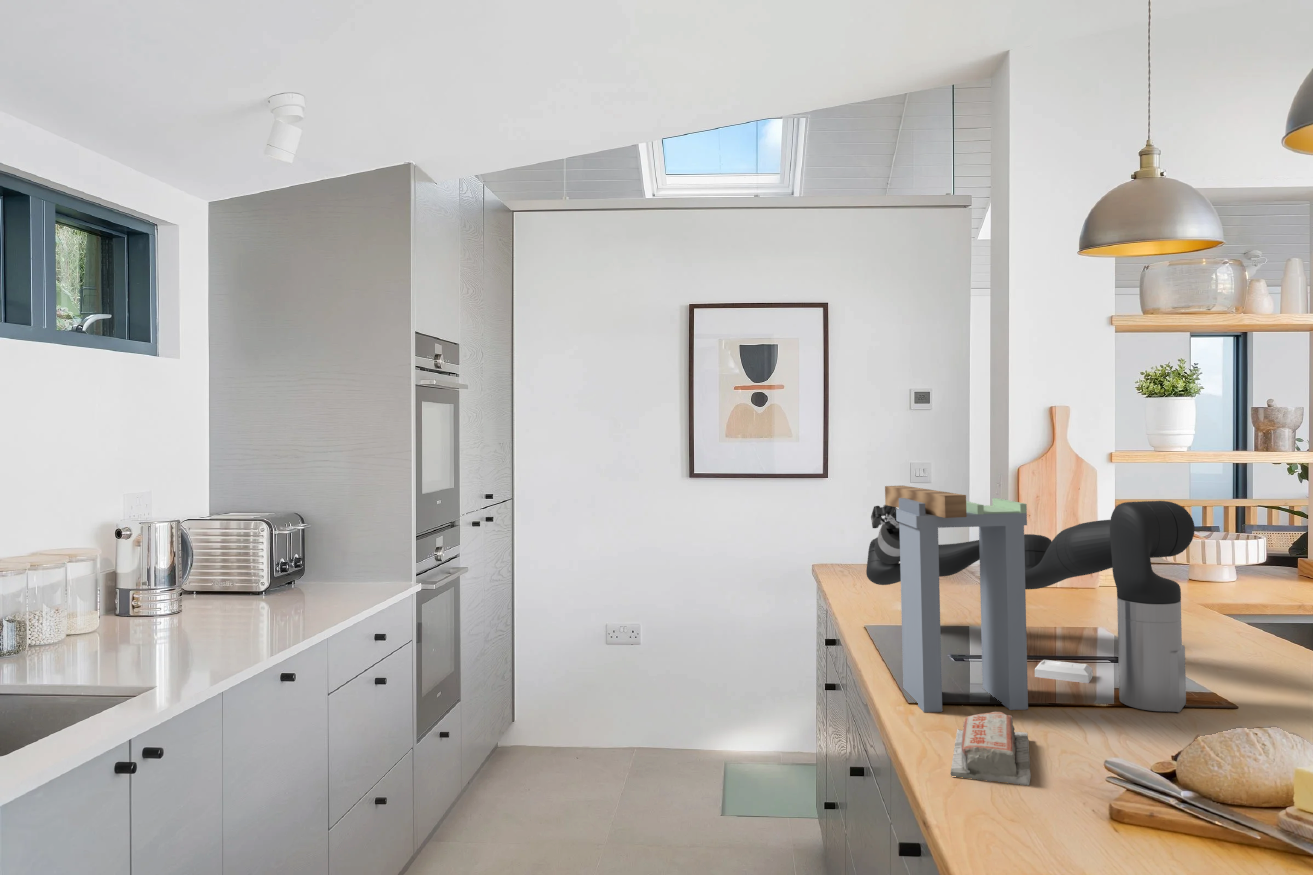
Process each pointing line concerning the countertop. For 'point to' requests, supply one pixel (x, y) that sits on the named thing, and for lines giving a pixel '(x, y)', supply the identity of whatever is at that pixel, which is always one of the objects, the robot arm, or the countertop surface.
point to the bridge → (997, 593)
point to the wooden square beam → (929, 500)
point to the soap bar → (1064, 671)
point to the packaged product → (991, 750)
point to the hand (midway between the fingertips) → (915, 501)
